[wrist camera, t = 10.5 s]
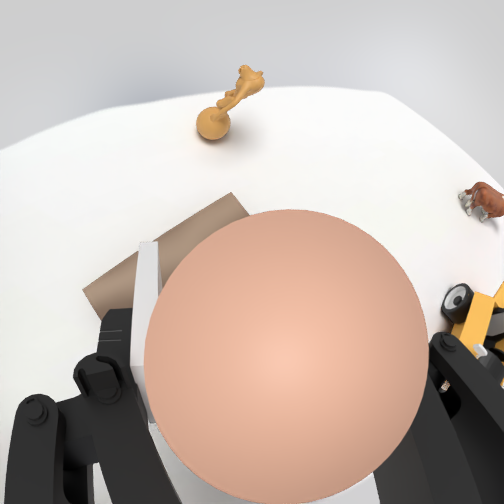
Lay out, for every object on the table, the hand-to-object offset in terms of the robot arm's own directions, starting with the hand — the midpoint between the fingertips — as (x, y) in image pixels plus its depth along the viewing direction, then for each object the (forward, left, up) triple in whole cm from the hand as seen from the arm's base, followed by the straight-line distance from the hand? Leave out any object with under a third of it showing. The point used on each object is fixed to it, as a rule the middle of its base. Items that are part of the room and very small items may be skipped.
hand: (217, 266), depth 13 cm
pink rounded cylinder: (+3, -2, -3) cm, 5 cm away
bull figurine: (+17, +48, -17) cm, 54 cm away
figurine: (-15, +14, -17) cm, 27 cm away
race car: (+28, +25, -18) cm, 42 cm away
